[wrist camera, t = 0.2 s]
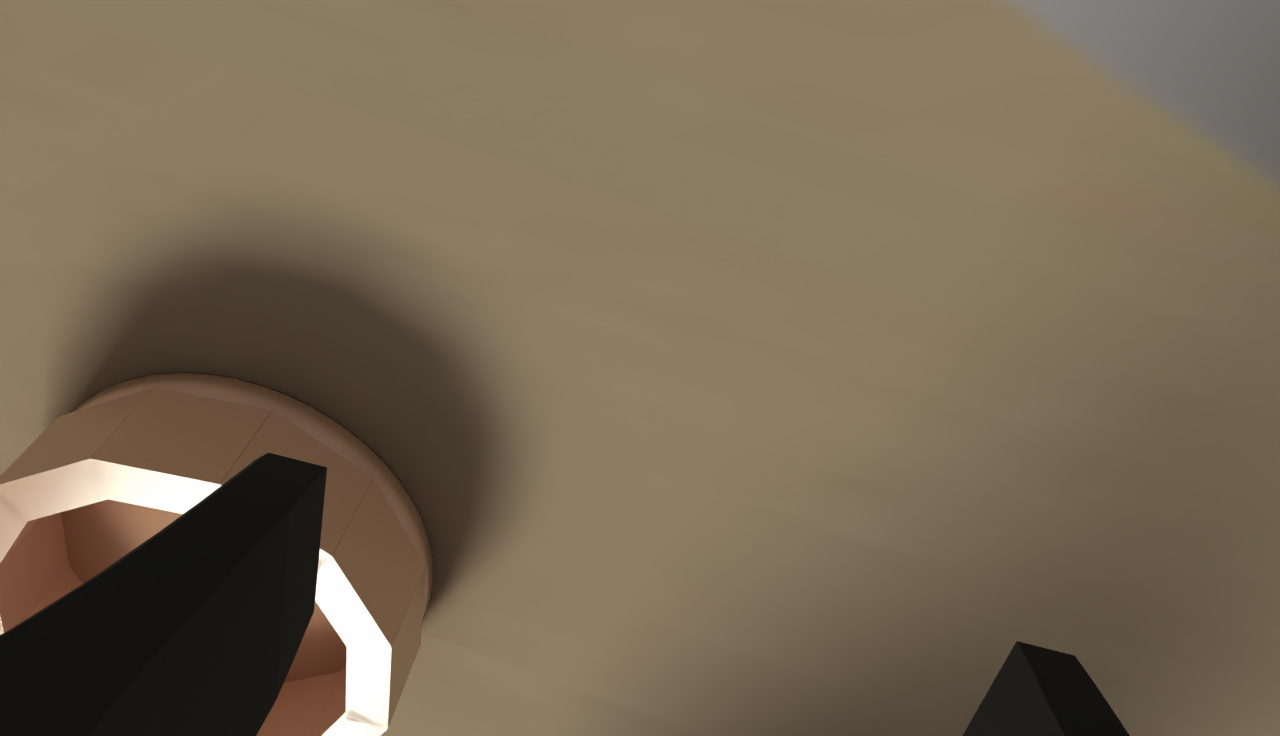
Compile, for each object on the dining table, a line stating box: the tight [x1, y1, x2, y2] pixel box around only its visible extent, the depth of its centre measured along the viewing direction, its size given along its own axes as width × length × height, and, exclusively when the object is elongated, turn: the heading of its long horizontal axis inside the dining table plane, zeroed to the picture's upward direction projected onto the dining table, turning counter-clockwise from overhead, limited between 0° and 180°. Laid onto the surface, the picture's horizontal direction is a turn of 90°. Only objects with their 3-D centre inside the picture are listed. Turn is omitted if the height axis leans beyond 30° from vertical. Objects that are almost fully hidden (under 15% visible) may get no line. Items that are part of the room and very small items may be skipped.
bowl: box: [0, 373, 433, 736], centre depth 24 cm, size 9×9×3 cm
